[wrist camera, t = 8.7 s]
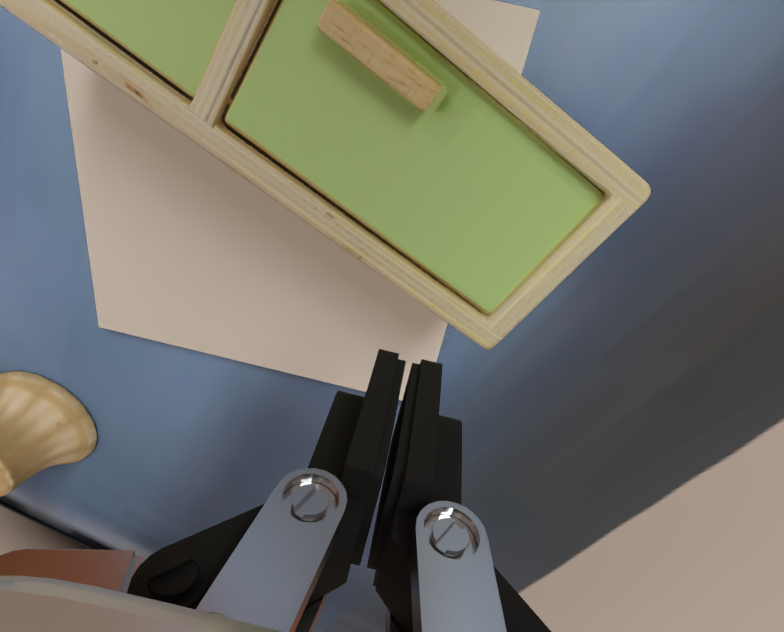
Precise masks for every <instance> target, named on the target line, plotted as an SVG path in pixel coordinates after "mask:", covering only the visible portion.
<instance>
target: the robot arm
mask: <svg viewBox="0 0 784 632" xmlns="http://www.w3.org/2000/svg"><path fill="white" fill-rule="evenodd" d="M398 357H399V353H395V352H391V351H386V350H382V349H379V351H378V354H377V357H376V361H375V364H374V367H373V371H372V374H371V378H370V381H369V384H368V388H367V391H366V395H365V397H362V396H358V395H353V394H349V393H345V392H341V391H338V392H337V394H336V396H335V398H334V401H333V404H332V406H331V409H330V412H329V414H328V417H327V419H326V422H325V425H324V427H323V430H322V432H321V435H320V438H319V440H318V443H317V446H316V448H315V451H314V453H313V456H312V459H311V461H310V464H309V466H308V468H304V469H300V470H296V471H293V472H291V473H290V474H288V475H286V476H285V477H284V478H283V479H282V480H281V481H280V482H279V483H278V484H277V486H276V487H275V489H274V490H273V492H272V493H271V495H270V496H269V498H268V500H267V501H266V503H265V504H263V505H261V506H259V507H256V508H254V509H252V510H249V511H247V512H245V513H242V514H240V515H238V516H236V517H233V518H231V519H229V520H226V521H224V522H222V523H219V524H217V525H215V526H213V527H210V528H208V529H206V530H203V531H201V532H199V533H196V534H194V535H192V536H189V537H187V538H185V539H183V540H180V541H178V542H176V543H173V544H171V545H169V546H166V547H164V548H162V549H160V550H159V551H157V552H155V553H154V554H152V555H150V556H135V551H131V550H69V549H23V550H15V551H11V552H8V553H5V554H3V555H0V632H312V631H313V629H314V626H315V624H316V622H317V619H318V617H319V614H320V612H321V610H322V607H323V605H324V602H325V599H326V595H327V594H328V593H329V592H331V591H333V590H334V589H336V588H338V587H339V586H341V585H342V584H344V583H346V581H347V577H348V573H349V569H350V565H351V564H355V565H359V566H360V562H361V559H362V555H363V551H364V547H365V544H366V540H367V536H368V532H369V529H370V525H371V521H372V518H373V514H374V510H375V506H376V503H377V499H378V495H379V491H380V488H381V484H382V480H383V476H384V471H385V467H386V471H385V476H384V481H383V486H382V492H381V497H380V502H379V507H378V512H377V518H376V523H375V528H374V533H373V538H372V544H371V549H370V554H369V559H368V565H367V568H371V569H375V570H376V572H375V577H374V583H373V586H376V591H377V593H378V594H379V596H380V597H381V599H382V600H383V602H384V603H385V605H386V606H387V607H386V614H385V632H551V631H550V630H549V629H548V627H547V626H546V625H545V624H544V623H543V622H542V621H541V619H540V618H539V617H538V616H537V615H536V614H535V613H534V611H533V610H532V609H531V608H530V607H529V606H528V605H527V603H526V602H525V601H524V600H523V599H522V598H521V597H520V595H519V594H518V593H517V592H516V591H515V590H514V589H513V587H512V586H511V585H510V584H509V583H508V582H507V580H506V579H505V578H504V577H503V576H502V575H501V574H500V572H499V571H498V570H497V569H496V568H495V567H494V566H493V562H492V557H491V552H490V548H489V543H488V538H487V534H486V532H485V529H484V526H483V525H482V523H481V522H480V520H479V519H478V517H477V516H476V515H475V514H473V513H472V512H471V511H470V510H469V509H467V508H465V507H464V506H462V505H461V476H462V422H461V421H460V420H456V419H452V418H448V417H444V416H440V415H439V405H440V391H441V377H442V364H440V363H436V362H432V361H428V360H424V359H422V360H421V362H420V364H417V363H412V366H411V369H410V373H409V377H408V381H407V384H406V388H405V392H404V396H403V399H402V403H401V407H400V411H399V414H398V418H397V422H396V426H395V430H394V433H393V437H392V441H391V436H392V431H393V426H394V421H395V415H396V410H397V405H398V400H399V395H400V390H401V384H402V379H403V374H404V369H405V364H406V361H404V360H400V359H398ZM390 441H391V445H390ZM389 446H390V450H389ZM388 452H389V455H388ZM387 457H388V460H387ZM386 462H387V466H386Z"/></svg>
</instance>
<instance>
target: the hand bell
mask: <svg viewBox="0 0 784 632" xmlns="http://www.w3.org/2000/svg"><path fill="white" fill-rule="evenodd" d="M96 442H97V432H96V428H95V425H94V422H93V420H92V418H91V416H90V415H89V413H88V412H87V410H86V409H85V407H84V406H83V405H82V404H81V403H80V402H79V400H78V399H77V398H76V397H74V396H73V395H72V394H71V393H70V392H68V391H67V390H66V389H64V388H63V387H62V386H59V385H58V384H56V383H55V382H53V381H51V380H49V379H47V378H44V377H42V376H39V375H36V374H33V373H29V372H24V371H9V372H4V373H1V374H0V497H1V496H4V495H6V494H8V493H9V492H11V491H12V490H13V489H15V488H16V487H17V486H19V485H20V484H21V483H23V482H24V481H25V480H27V479H28V478H30V477H31V476H33V475H34V474H36V473H38V472H39V471H41V470H43V469H45V468H47V467H50V466H53V465H56V464H70V463H74V462H77V461H80V460H82V459H84V458H86V457H87V456H89V455H90V454H91V453H92V452H93V450H94V448H95V445H96Z"/></svg>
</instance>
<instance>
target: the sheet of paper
mask: <svg viewBox="0 0 784 632" xmlns="http://www.w3.org/2000/svg"><path fill="white" fill-rule="evenodd" d="M435 1H436V2H437V3H438V4H439V5H440V6H442V7H443V8H444V9H445V10H446V11H447V12H449V13H450V14H451V15H452V16H453V17H454V18H455V19H457V20H458V21H459V22H460V23H461V24H462V25H463V26H465V27H466V28H467V29H468V30H469V31H470V32H472V33H473V34H474V35H475V36H476V37H478V38H479V39H480V40H481V41H482V42H483V43H485V44H486V45H487V46H488V47H489V48H490V49H492V50H493V51H494V52H495V53H496V54H497V55H499V56H500V57H501V58H502V59H503V60H505V61H506V62H507V63H508V64H509V65H510V66H511V67H513V68H514V69H515V70H516V71H517V72H518V73H519V74H521V75H522V71H523V68H524V65H525V61H526V58H527V55H528V51H529V48H530V44H531V41H532V38H533V34H534V31H535V28H536V24H537V21H538V18H539V14H540V11H541V10H536V9H532V8H527V7H523V6H518V5H514V4H509V3H505V2H500V1H496V0H435ZM60 49H61V48H60ZM61 56H62V64H63V71H64V78H65V85H66V93H67V100H68V107H69V114H70V122H71V129H72V136H73V143H74V151H75V158H76V165H77V172H78V180H79V187H80V194H81V201H82V209H83V216H84V223H85V230H86V238H87V245H88V252H89V259H90V267H91V274H92V281H93V288H94V296H95V303H96V310H97V317H98V325H99V327H101V328H105V329H109V330H113V331H117V332H121V333H125V334H130V335H134V336H138V337H142V338H146V339H150V340H154V341H158V342H163V343H167V344H171V345H175V346H179V347H183V348H187V349H191V350H195V351H200V352H204V353H208V354H212V355H216V356H220V357H224V358H228V359H233V360H237V361H241V362H245V363H249V364H253V365H257V366H261V367H265V368H270V369H274V370H278V371H282V372H286V373H290V374H294V375H298V376H302V377H307V378H311V379H315V380H319V381H323V382H327V383H331V384H335V385H340V386H344V387H348V388H352V389H356V390H360V391H364V392H366V391H367V388H368V384H369V381H370V378H371V374H372V371H373V367H374V364H375V361H376V357H377V354H378V351H379V349H382V350H386V351H391V352H395V353H399V357H398V359H400V360H404V361H406V364H405V369H404V374H403V379H402V384H401V390H400V395H399V400H401V401H402V399H403V396H404V392H405V388H406V384H407V381H408V377H409V373H410V369H411V366H412V363H417V364H420V362H421V360H422V359H424V360H428V361H432V362H437V358H438V355H439V351H440V348H441V345H442V341H443V338H444V335H445V331H446V328H447V324H448V323H447V322H445V321H444V320H443V319H441V318H440V317H438V316H437V315H435V314H434V313H433V312H431V311H430V310H429V309H427V308H426V307H425V306H423V305H422V304H420V303H419V302H417V301H416V300H414V299H413V298H412V297H410V296H409V295H407V294H406V293H405V292H403V291H402V290H400V289H399V288H398V287H396V286H395V285H393V284H392V283H390V282H389V281H388V280H386V279H385V278H383V277H382V276H381V275H379V274H378V273H376V272H375V271H373V270H372V269H371V268H369V267H368V266H366V265H365V264H363V263H362V262H361V261H359V260H358V259H357V258H355V257H354V256H352V255H351V254H350V253H348V252H347V251H345V250H344V249H342V248H341V247H340V246H338V245H337V244H335V243H334V242H333V241H331V240H330V239H328V238H327V237H326V236H324V235H323V234H321V233H320V232H319V231H317V230H316V229H314V228H313V227H311V226H310V225H309V224H307V223H306V222H304V221H303V220H302V219H300V218H299V217H297V216H296V215H295V214H293V213H292V212H290V211H289V210H288V209H286V208H285V207H283V206H282V205H280V204H279V203H278V202H276V201H275V200H273V199H272V198H271V197H269V196H268V195H266V194H265V193H264V192H262V191H261V190H259V189H258V188H257V187H255V186H254V185H252V184H251V183H250V182H248V181H247V180H246V179H244V178H243V177H241V176H240V175H239V174H237V173H236V172H234V171H233V170H232V169H230V168H229V167H227V166H226V165H225V164H223V163H222V162H220V161H219V160H217V159H216V158H215V157H213V156H212V155H210V154H209V153H207V152H206V151H205V150H203V149H202V148H201V147H199V146H198V145H197V144H195V143H194V142H192V141H191V140H190V139H188V138H187V137H186V136H184V135H183V134H181V133H180V132H178V131H177V130H176V129H174V128H173V127H171V126H170V125H168V124H167V123H166V122H164V121H163V120H161V119H160V118H158V117H157V116H156V115H154V114H153V113H151V112H150V111H149V110H147V109H146V108H144V107H143V106H141V105H140V104H139V103H137V102H136V101H134V100H133V99H131V98H130V97H129V96H127V95H126V94H124V93H123V92H121V91H120V90H119V89H117V88H116V87H114V86H113V85H111V84H110V83H109V82H107V81H106V80H104V79H103V78H102V77H100V76H99V75H97V74H96V73H95V72H93V71H92V70H90V69H89V68H88V67H86V66H85V65H84V64H82V63H81V62H79V61H78V60H77V59H75V58H74V57H72V56H71V55H70V54H68V53H67V52H65V51H64V50H62V49H61Z"/></svg>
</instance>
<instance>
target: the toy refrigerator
mask: <svg viewBox="0 0 784 632" xmlns="http://www.w3.org/2000/svg"><path fill="white" fill-rule="evenodd" d="M0 6H2V7H3V8H5V9H6V10H7V11H9V12H10V13H12V14H13V15H14V16H16V17H17V18H19V19H20V20H21V21H23V22H24V23H26V24H27V25H29V26H30V27H31V28H33V29H34V30H36V31H37V32H39V33H40V34H41V35H43V36H44V37H45V38H47V39H48V40H50V41H51V42H52V43H54V44H55V45H57V46H58V47H60V48H61V49H62V50H64V51H65V52H67V53H68V54H70V55H71V56H72V57H74V58H75V59H77V60H78V61H79V62H81V63H82V64H84V65H85V66H86V67H88V68H89V69H90V70H92V71H93V72H95V73H96V74H97V75H99V76H100V77H102V78H103V79H104V80H106V81H107V82H109V83H110V84H111V85H113V86H114V87H116V88H117V89H119V90H120V91H121V92H123V93H124V94H126V95H127V96H129V97H130V98H131V99H133V100H134V101H136V102H137V103H139V104H140V105H141V106H143V107H144V108H146V109H147V110H149V111H150V112H151V113H153V114H154V115H156V116H157V117H158V118H160V119H161V120H163V121H164V122H166V123H167V124H168V125H170V126H171V127H173V128H174V129H176V130H177V131H178V132H180V133H181V134H183V135H184V136H186V137H187V138H188V139H190V140H191V141H192V142H194V143H195V144H197V145H198V146H199V147H201V148H202V149H203V150H205V151H206V152H207V153H209V154H210V155H212V156H213V157H215V158H216V159H217V160H219V161H220V162H222V163H223V164H225V165H226V166H227V167H229V168H230V169H232V170H233V171H234V172H236V173H237V174H239V175H240V176H241V177H243V178H244V179H246V180H247V181H248V182H250V183H251V184H252V185H254V186H255V187H257V188H258V189H259V190H261V191H262V192H264V193H265V194H266V195H268V196H269V197H271V198H272V199H273V200H275V201H276V202H278V203H279V204H280V205H282V206H283V207H285V208H286V209H288V210H289V211H290V212H292V213H293V214H295V215H296V216H297V217H299V218H300V219H302V220H303V221H304V222H306V223H307V224H309V225H310V226H311V227H313V228H314V229H316V230H317V231H319V232H320V233H321V234H323V235H324V236H326V237H327V238H328V239H330V240H331V241H333V242H334V243H335V244H337V245H338V246H340V247H341V248H342V249H344V250H345V251H347V252H348V253H350V254H351V255H352V256H354V257H355V258H357V259H358V260H359V261H361V262H362V263H363V264H365V265H366V266H368V267H369V268H371V269H372V270H373V271H375V272H376V273H378V274H379V275H381V276H382V277H383V278H385V279H386V280H388V281H389V282H390V283H392V284H393V285H395V286H396V287H398V288H399V289H400V290H402V291H403V292H405V293H406V294H407V295H409V296H410V297H412V298H413V299H414V300H416V301H417V302H419V303H420V304H422V305H423V306H425V307H426V308H427V309H429V310H430V311H431V312H433V313H434V314H435V315H437V316H438V317H440V318H441V319H443V320H444V321H445V322H447V323H448V324H450V325H451V326H453V327H454V328H455V329H457V330H458V331H460V332H461V333H462V334H464V335H465V336H467V337H468V338H470V339H471V340H472V341H474V342H475V343H477V344H479V345H480V346H482V347H483V348H485V349H487V350H489V349H492V348H493V347H494V346H495V345H496V344H498V343H499V342H500V341H501V340H502V339H503V338H504V337H505V336H506V335H507V334H508V333H509V332H510V331H511V330H512V329H513V328H514V327H515V326H516V325H517V324H518V323H520V322H521V321H522V320H523V319H524V318H525V317H526V316H527V315H528V314H529V313H530V312H531V311H532V310H533V309H534V308H535V307H536V306H537V305H538V304H539V303H540V302H541V301H542V300H543V299H544V298H545V297H546V296H547V295H548V294H549V293H551V292H552V291H553V290H554V289H555V288H556V287H557V286H558V285H559V284H560V283H561V282H562V281H563V280H564V279H565V278H566V277H567V276H568V275H569V274H570V273H571V272H572V271H573V270H574V269H575V268H576V267H577V266H578V265H579V264H581V263H582V262H583V261H584V260H585V259H586V258H587V257H588V256H589V255H590V254H591V253H592V252H593V251H594V250H595V249H596V248H597V247H598V246H599V245H600V244H601V243H602V242H603V241H604V240H605V239H607V238H608V237H609V236H610V235H611V234H612V233H613V232H614V231H615V230H616V229H617V228H618V227H619V226H620V225H621V224H622V223H623V222H624V221H626V220H627V219H628V218H629V217H630V216H631V215H632V214H633V213H634V212H635V211H636V210H637V209H638V208H639V207H640V206H641V205H642V204H643V203H644V202H645V201H646V200H647V199H648V197H649V195H650V192H651V190H650V186H649V184H648V183H647V182H645V181H644V180H643V179H642V178H641V177H640V176H639V175H637V174H636V173H635V172H634V171H633V170H632V169H631V168H629V167H628V166H627V165H626V164H625V163H624V162H623V161H621V160H620V159H619V158H618V157H617V156H616V155H614V154H613V153H612V152H611V151H610V150H609V149H607V148H606V147H605V146H604V145H603V144H601V143H600V142H599V141H598V140H597V139H596V138H594V137H593V136H592V135H591V134H590V133H589V132H587V131H586V130H585V129H584V128H583V127H582V126H580V125H579V124H578V123H577V122H576V121H574V120H573V119H572V118H571V117H570V116H569V115H567V114H566V113H565V112H564V111H563V110H561V109H560V108H559V107H558V106H557V105H556V104H554V103H553V102H552V101H551V100H550V99H549V98H547V97H546V96H545V95H544V94H543V93H542V92H540V91H539V90H538V89H537V88H536V87H535V86H533V85H532V84H531V83H530V82H529V81H528V80H526V79H525V78H524V77H523V76H522V75H521V74H519V73H518V72H517V71H516V70H515V69H514V68H513V67H511V66H510V65H509V64H508V63H507V62H506V61H505V60H503V59H502V58H501V57H500V56H499V55H497V54H496V53H495V52H494V51H493V50H492V49H490V48H489V47H488V46H487V45H486V44H485V43H483V42H482V41H481V40H480V39H479V38H478V37H476V36H475V35H474V34H473V33H472V32H470V31H469V30H468V29H467V28H466V27H465V26H463V25H462V24H461V23H460V22H459V21H458V20H457V19H455V18H454V17H453V16H452V15H451V14H450V13H449V12H447V11H446V10H445V9H444V8H443V7H442V6H440V5H439V4H438V3H437V2H436V1H435V0H0Z"/></svg>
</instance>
